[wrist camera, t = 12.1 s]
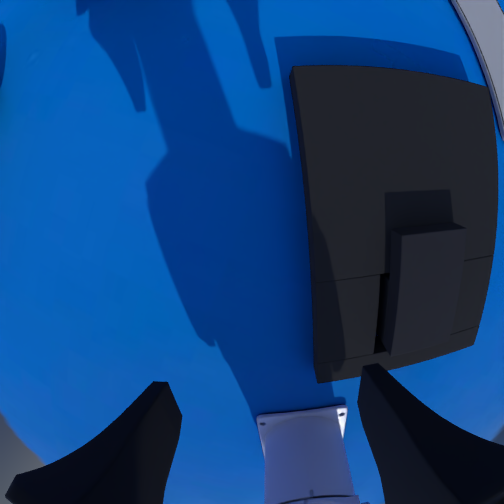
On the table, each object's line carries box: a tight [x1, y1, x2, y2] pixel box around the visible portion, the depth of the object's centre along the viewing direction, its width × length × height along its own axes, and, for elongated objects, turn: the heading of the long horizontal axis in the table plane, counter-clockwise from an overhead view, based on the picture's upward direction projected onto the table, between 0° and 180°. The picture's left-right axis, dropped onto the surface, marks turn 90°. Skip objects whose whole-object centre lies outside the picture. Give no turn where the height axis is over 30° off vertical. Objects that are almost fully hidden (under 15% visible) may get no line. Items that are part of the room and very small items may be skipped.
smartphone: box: [451, 0, 504, 141], centre depth 11 cm, size 7×1×15 cm
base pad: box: [289, 65, 498, 383], centre depth 16 cm, size 20×14×2 cm
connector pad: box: [376, 222, 467, 357], centre depth 16 cm, size 8×5×4 cm, turn 7°
